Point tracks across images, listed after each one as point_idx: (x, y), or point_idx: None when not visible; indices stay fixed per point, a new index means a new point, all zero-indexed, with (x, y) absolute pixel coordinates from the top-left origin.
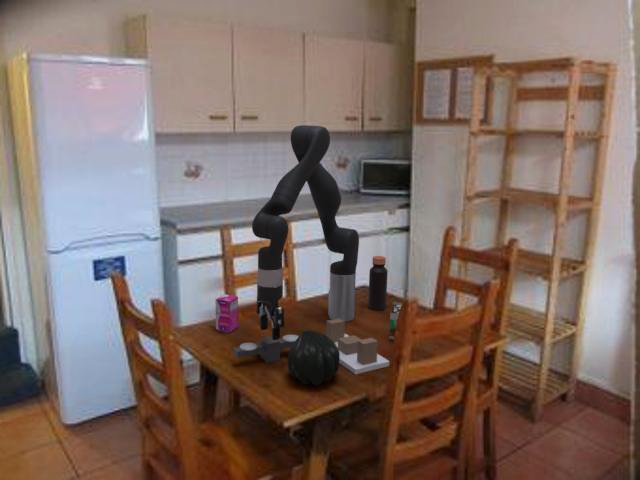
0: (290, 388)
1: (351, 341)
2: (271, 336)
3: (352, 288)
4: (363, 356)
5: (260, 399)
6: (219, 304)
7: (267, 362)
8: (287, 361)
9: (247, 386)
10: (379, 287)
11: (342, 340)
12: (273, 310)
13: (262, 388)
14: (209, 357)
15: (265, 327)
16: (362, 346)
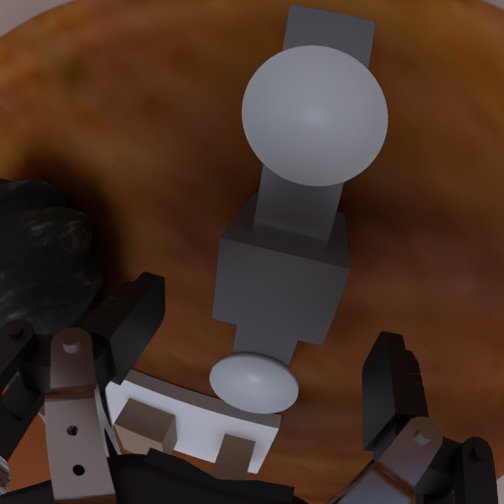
0: (33, 143)
1: (128, 439)
2: (318, 336)
3: None
4: None
5: (28, 27)
6: None
7: (253, 193)
8: (9, 190)
9: (106, 3)
10: None
11: (144, 438)
12: (11, 492)
13: (67, 52)
14: (497, 18)
15: (369, 368)
16: (44, 408)
